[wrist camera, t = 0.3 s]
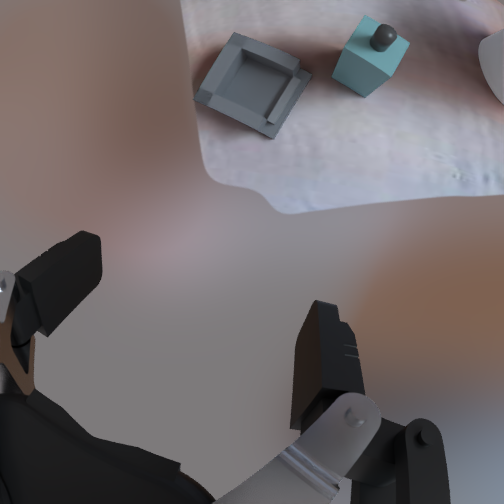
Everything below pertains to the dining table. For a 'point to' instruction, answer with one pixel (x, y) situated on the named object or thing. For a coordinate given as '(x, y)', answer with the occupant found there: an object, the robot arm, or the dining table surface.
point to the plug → (369, 57)
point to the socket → (253, 84)
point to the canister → (493, 62)
